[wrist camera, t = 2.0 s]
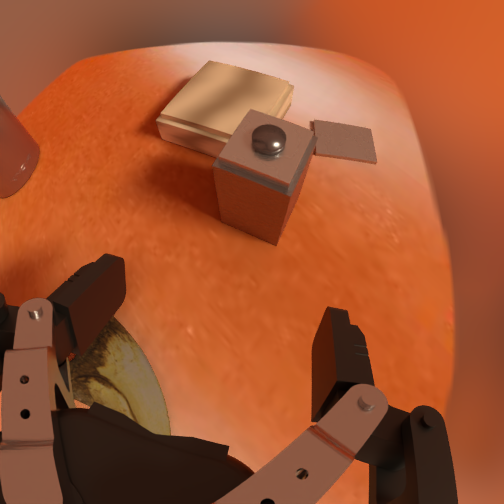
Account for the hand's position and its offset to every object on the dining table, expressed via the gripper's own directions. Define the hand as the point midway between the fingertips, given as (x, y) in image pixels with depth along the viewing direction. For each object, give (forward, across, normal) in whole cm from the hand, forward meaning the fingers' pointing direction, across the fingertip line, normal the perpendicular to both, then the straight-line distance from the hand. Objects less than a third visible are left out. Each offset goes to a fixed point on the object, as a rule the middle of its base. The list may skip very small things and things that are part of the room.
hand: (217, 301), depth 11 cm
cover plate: (+26, -7, -5) cm, 27 cm away
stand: (+25, +6, -5) cm, 27 cm away
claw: (+2, +8, +19) cm, 21 cm away
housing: (+18, 0, +2) cm, 18 cm away
